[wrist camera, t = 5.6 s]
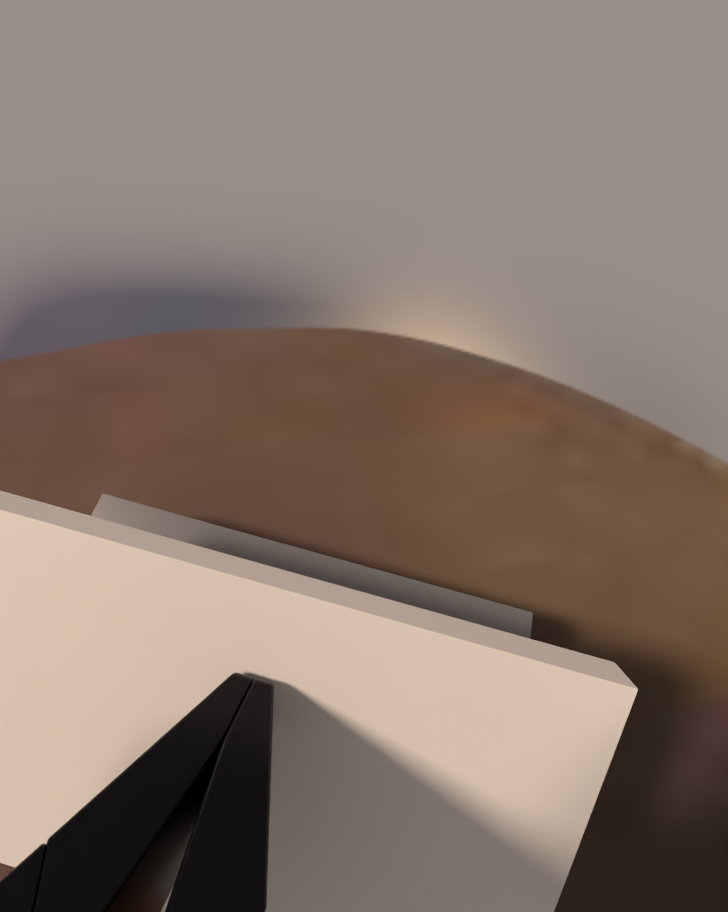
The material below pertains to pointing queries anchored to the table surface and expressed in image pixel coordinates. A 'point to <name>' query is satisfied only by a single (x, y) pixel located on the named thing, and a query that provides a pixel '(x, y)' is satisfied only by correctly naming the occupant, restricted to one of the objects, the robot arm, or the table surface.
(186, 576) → the white rectangular panel
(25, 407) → the table surface
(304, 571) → the cable duct
